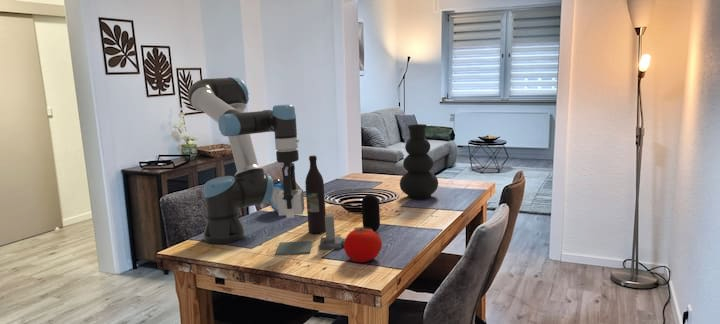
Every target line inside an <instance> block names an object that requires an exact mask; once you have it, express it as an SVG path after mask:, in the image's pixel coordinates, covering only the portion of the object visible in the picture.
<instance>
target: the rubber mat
mask: <svg viewBox="0 0 720 324" xmlns="http://www.w3.org/2000/svg"><path fill="white" fill-rule="evenodd" d="M312 247H313V240H300V241H299V240H298V241H281V242H279V243H278V246H277V248H276V250H275V251H274V252H275V253H274V256H286V255H306V254H311V251H312Z"/></svg>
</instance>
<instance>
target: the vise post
mask: <svg viewBox="0 0 720 324" xmlns="http://www.w3.org/2000/svg"><path fill="white" fill-rule="evenodd" d="M325 227H326V232H325V237H323V236H322V237H320V241H319V250H321V251H322V250H324V251H325V250H338V249H342V247H344V242H345V239H346V237H343V238H342V236H336V229H335V215H334V214H326V215H325ZM361 228H362V229H365V228H366V229H369V230H372V229H371V227H363V226H361V227H360V226H359V227H358V226H357V227H353V230H356V229H361ZM372 231H373V230H372Z"/></svg>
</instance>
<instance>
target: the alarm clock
mask: <svg viewBox="0 0 720 324" xmlns="http://www.w3.org/2000/svg"><path fill="white" fill-rule="evenodd" d="M272 181H273V194H272V197H271V199H270V200H269V201H268V203H269V206H270V207H271V208H272V210H274V212H277V213H279V211H278V199H277V195H278V194H279V192H280V191H284V188H283V180H281V179H279V178H273V179H272Z"/></svg>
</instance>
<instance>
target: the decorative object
mask: <svg viewBox="0 0 720 324" xmlns="http://www.w3.org/2000/svg"><path fill="white" fill-rule="evenodd" d="M380 214H381V213H380V201H379V198H378V197H377V196H376V195H375V194H372V193H368V194H366V195H365V196H364V197H363V198H362V201H361V215H362V217H361V218H362V219H361V220H362V227H371V229H372V230H373V231H374V232H375V233H377V231H378V230H379V228H380V226H381V221H380V220H381V219H380V217H381V215H380Z"/></svg>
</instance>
